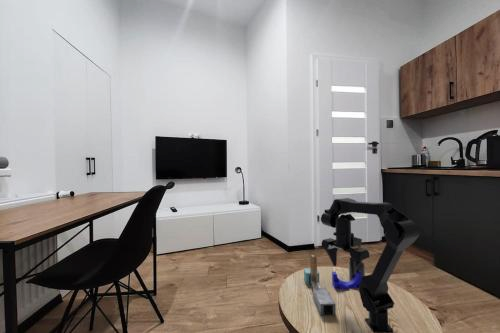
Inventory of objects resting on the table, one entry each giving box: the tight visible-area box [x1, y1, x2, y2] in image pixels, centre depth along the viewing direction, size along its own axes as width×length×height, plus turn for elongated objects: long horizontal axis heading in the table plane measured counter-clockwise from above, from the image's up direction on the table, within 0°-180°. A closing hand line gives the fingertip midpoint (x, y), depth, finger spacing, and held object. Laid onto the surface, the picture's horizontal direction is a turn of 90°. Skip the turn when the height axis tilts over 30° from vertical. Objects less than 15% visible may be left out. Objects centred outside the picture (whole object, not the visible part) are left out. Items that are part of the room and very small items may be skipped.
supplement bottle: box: [348, 260, 366, 281], centre depth 114 cm, size 7×7×12 cm
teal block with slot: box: [303, 268, 320, 285], centre depth 115 cm, size 5×6×5 cm
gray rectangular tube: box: [312, 287, 337, 317], centre depth 94 cm, size 12×5×4 cm, turn 178°
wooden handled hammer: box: [309, 253, 322, 289], centre depth 106 cm, size 18×3×13 cm, turn 179°
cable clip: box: [331, 270, 362, 291], centre depth 109 cm, size 12×4×6 cm, turn 84°
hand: (344, 269), depth 96 cm, fingers open, 9 cm apart
